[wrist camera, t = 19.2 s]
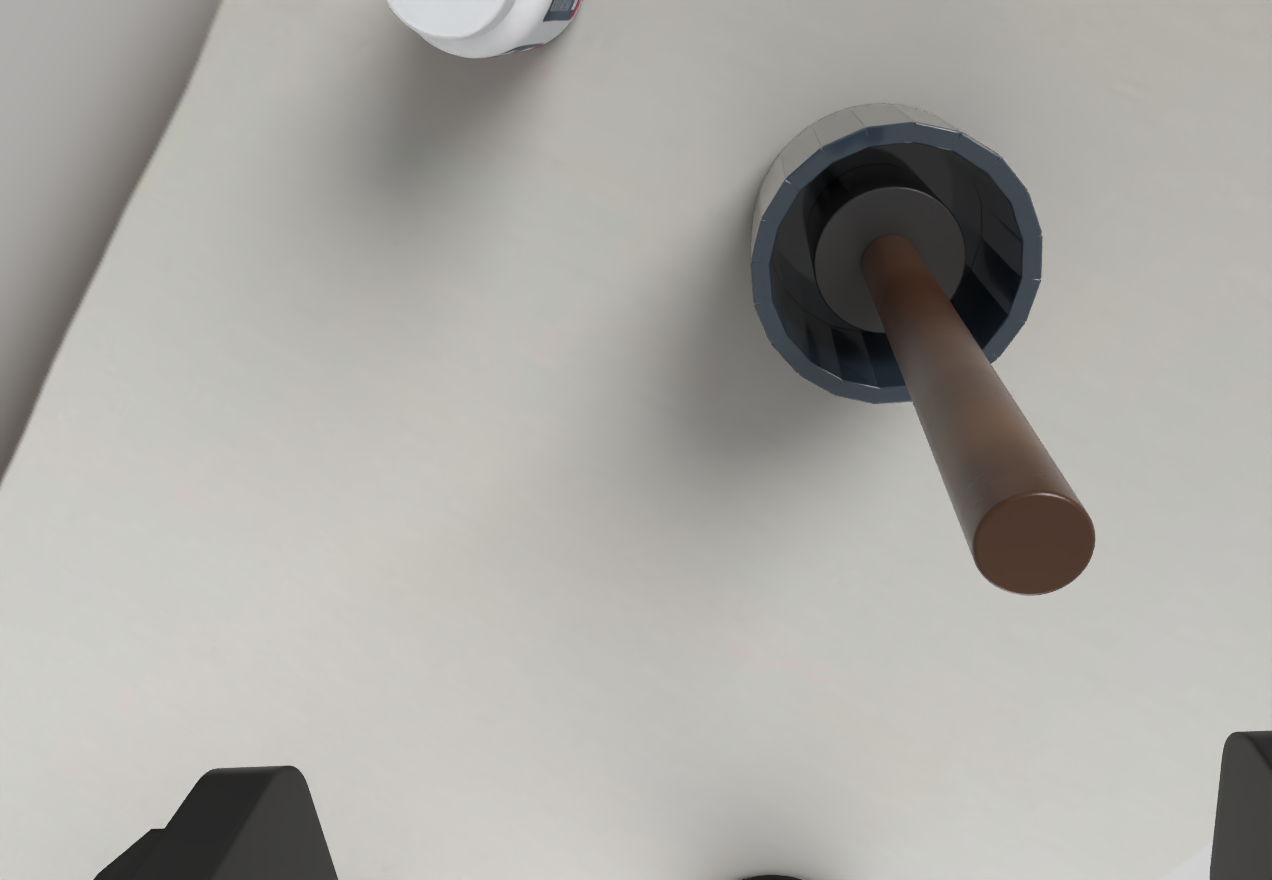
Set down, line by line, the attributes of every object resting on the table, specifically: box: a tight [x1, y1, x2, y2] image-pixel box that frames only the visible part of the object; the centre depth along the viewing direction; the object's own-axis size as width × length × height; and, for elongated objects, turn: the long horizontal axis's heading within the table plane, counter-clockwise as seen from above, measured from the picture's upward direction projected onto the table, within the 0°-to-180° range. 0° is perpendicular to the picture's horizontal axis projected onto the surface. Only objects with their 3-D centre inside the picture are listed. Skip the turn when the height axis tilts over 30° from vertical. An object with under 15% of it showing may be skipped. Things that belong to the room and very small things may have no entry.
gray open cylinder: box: [750, 103, 1042, 404], centre depth 35 cm, size 9×9×7 cm
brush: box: [807, 164, 1095, 595], centre depth 27 cm, size 5×5×24 cm
